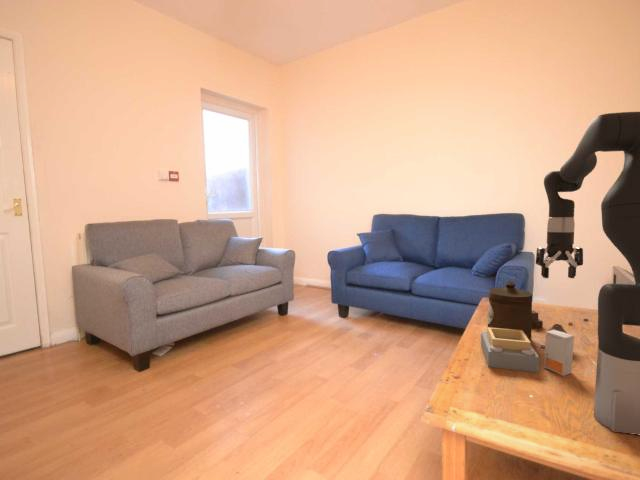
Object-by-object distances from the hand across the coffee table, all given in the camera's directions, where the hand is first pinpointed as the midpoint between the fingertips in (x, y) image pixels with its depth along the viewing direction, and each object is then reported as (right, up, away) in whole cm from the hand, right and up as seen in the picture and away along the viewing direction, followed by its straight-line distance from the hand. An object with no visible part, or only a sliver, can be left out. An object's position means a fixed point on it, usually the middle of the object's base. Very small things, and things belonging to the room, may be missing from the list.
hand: (558, 277), depth 117 cm
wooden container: (-8, -25, +16) cm, 31 cm away
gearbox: (-18, -27, -1) cm, 32 cm away
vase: (+3, -26, +5) cm, 27 cm away
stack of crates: (+7, -24, +29) cm, 38 cm away
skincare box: (-8, -28, -11) cm, 31 cm away
